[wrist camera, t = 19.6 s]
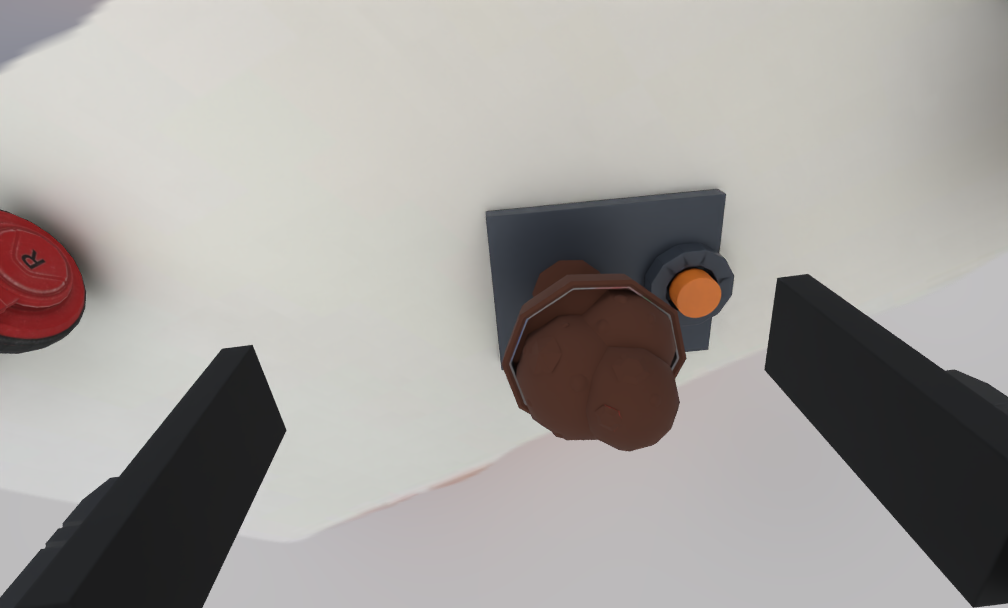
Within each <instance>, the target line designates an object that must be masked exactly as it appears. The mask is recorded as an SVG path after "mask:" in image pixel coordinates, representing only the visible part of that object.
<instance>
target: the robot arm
mask: <svg viewBox="0 0 1008 608" xmlns="http://www.w3.org/2000/svg"><path fill="white" fill-rule="evenodd" d="M765 371H766V372H767V373H768V374H769V375H770V377H771V378H772V379H773V380H774V381H775V382H776V383H777V384H778V386H779V387H780V388H781V389H782V390H783V391H784V393H785V394H786V395H787V396H788V397H789V398H790V399H791V401H792V402H793V403H794V404H795V405H796V406H797V407H798V408H799V409H800V411H801V412H802V413H803V414H804V415H805V416H806V418H807V419H808V420H809V421H810V422H811V423H812V424H813V426H814V427H815V428H816V429H817V430H818V431H819V432H820V434H821V435H822V436H823V437H824V438H825V439H826V440H827V442H829V444H830V445H831V446H832V447H833V448H834V449H835V451H836V452H837V453H838V454H839V455H840V456H841V457H842V459H843V460H844V461H845V462H846V463H847V464H848V465H849V466H850V468H851V469H852V470H853V471H854V472H855V473H856V475H857V476H858V477H859V478H860V479H861V480H862V481H863V483H864V484H865V485H866V486H867V487H868V488H869V489H870V490H871V492H872V493H873V494H874V495H875V496H876V497H877V499H878V500H879V501H880V502H881V503H882V504H883V505H884V507H885V508H886V509H887V510H888V511H889V512H890V513H891V514H892V516H893V517H894V518H895V519H896V520H897V521H898V523H899V524H900V525H901V526H902V527H903V528H904V529H905V531H906V532H907V533H908V534H909V535H910V536H911V537H912V538H913V540H914V541H915V542H916V543H917V544H918V545H919V546H920V548H921V549H922V550H923V551H924V552H925V553H926V554H927V556H928V557H929V558H930V559H931V560H932V561H933V562H934V564H935V565H936V566H937V567H938V568H939V569H940V570H941V572H942V573H943V574H944V575H945V576H946V577H947V578H948V580H949V581H950V582H951V583H952V584H953V585H954V586H955V587H956V589H957V590H958V591H959V592H960V593H961V594H962V595H963V597H964V598H965V599H966V600H967V601H968V602H969V603H970V605H971V606H972V607H973V608H974V607H982V606H990V605H998V604H1006V603H1008V397H1007V396H1006V395H1004V394H1003V393H1001V392H1000V391H998V390H997V389H995V388H994V387H992V386H991V385H989V384H988V383H985V382H983V381H980V380H978V379H976V378H973V377H971V376H969V375H966V374H964V373H962V372H959V371H957V370H947V371H945V370H943V369H942V368H940V367H939V366H937V365H936V364H935V363H933V362H932V361H930V360H929V359H928V358H926V357H925V356H923V355H922V354H920V353H919V352H918V351H916V350H915V349H913V348H912V347H910V346H909V345H908V344H906V343H905V342H903V341H902V340H901V339H899V338H898V337H896V336H895V335H894V334H892V333H891V332H889V331H888V330H886V329H885V328H884V327H882V326H881V325H879V324H878V323H877V322H875V321H874V320H872V319H871V318H870V317H868V316H867V315H865V314H864V313H862V312H861V311H860V310H858V309H857V308H855V307H854V306H853V305H851V304H850V303H848V302H847V301H845V300H844V299H843V298H841V297H840V296H838V295H837V294H836V293H834V292H833V291H831V290H830V289H828V288H827V287H826V286H824V285H823V284H821V283H820V282H819V281H817V280H816V279H814V278H813V277H811V276H810V275H809V274H805V275H797V276H789V277H781V278H777V284H776V291H775V298H774V305H773V312H772V320H771V327H770V334H769V341H768V348H767V356H766V363H765ZM285 432H286V428H285V425H284V423H283V420H282V418H281V415H280V413H279V410H278V408H277V405H276V403H275V400H274V398H273V395H272V393H271V390H270V388H269V385H268V383H267V380H266V378H265V375H264V373H263V370H262V368H261V365H260V363H259V360H258V357H257V355H256V352H255V350H254V347H253V345H248V346H240V347H232V348H225V349H222V350H221V351H220V352H219V353H218V355H217V356H216V357H215V358H214V359H213V361H212V362H211V363H210V364H209V366H208V367H207V368H206V369H205V371H204V372H203V373H202V374H201V376H200V377H199V378H198V379H197V381H196V382H195V383H194V384H193V386H192V387H191V388H190V389H189V391H188V392H187V393H186V394H185V396H184V397H183V398H182V399H181V400H180V402H179V403H178V404H177V405H176V407H175V408H174V409H173V410H172V412H171V413H170V414H169V415H168V417H167V418H166V419H165V420H164V422H163V423H162V424H161V425H160V427H159V428H158V429H157V430H156V432H155V433H154V434H153V435H152V436H151V438H150V439H149V440H148V441H147V443H146V444H145V445H144V446H143V448H142V449H141V450H140V451H139V453H138V454H137V455H136V456H135V458H134V459H133V460H132V461H131V463H130V464H129V465H128V466H127V468H126V469H125V470H124V471H123V473H122V474H121V475H120V476H119V477H113V478H109V479H108V480H107V481H106V482H104V483H103V484H102V485H101V486H99V487H98V488H97V489H96V490H94V491H93V492H92V493H91V494H89V495H88V496H87V497H85V498H84V499H83V500H82V501H81V502H80V503H79V505H78V506H77V507H76V508H75V510H74V511H73V512H72V513H71V514H70V515H69V517H68V518H67V519H66V520H65V521H64V522H63V527H62V528H59V529H58V530H57V531H56V532H55V533H54V535H53V536H52V537H51V538H50V539H49V540H48V542H47V543H46V547H45V549H41V550H40V551H39V552H38V553H37V555H36V556H35V557H34V558H33V559H32V560H31V562H30V563H29V564H28V565H27V566H26V568H25V569H24V570H23V571H22V572H21V574H20V575H19V576H18V577H17V578H16V579H15V581H14V582H13V583H12V584H11V585H10V586H9V588H8V589H7V590H6V591H5V592H4V594H3V595H2V596H1V597H0V608H202V607H203V605H204V603H205V601H206V599H207V597H208V595H209V593H210V590H211V588H212V586H213V584H214V582H215V580H216V578H217V576H218V573H219V571H220V569H221V567H222V565H223V563H224V561H225V559H226V557H227V554H228V553H229V550H230V548H231V546H232V544H233V542H234V540H235V538H236V536H237V534H238V531H239V529H240V527H241V525H242V523H243V521H244V519H245V517H246V515H247V512H248V510H249V508H250V506H251V504H252V502H253V500H254V498H255V496H256V493H257V491H258V489H259V487H260V485H261V483H262V481H263V479H264V477H265V475H266V472H267V470H268V468H269V466H270V464H271V462H272V460H273V458H274V456H275V453H276V451H277V449H278V447H279V445H280V443H281V441H282V439H283V437H284V434H285Z"/></svg>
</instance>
